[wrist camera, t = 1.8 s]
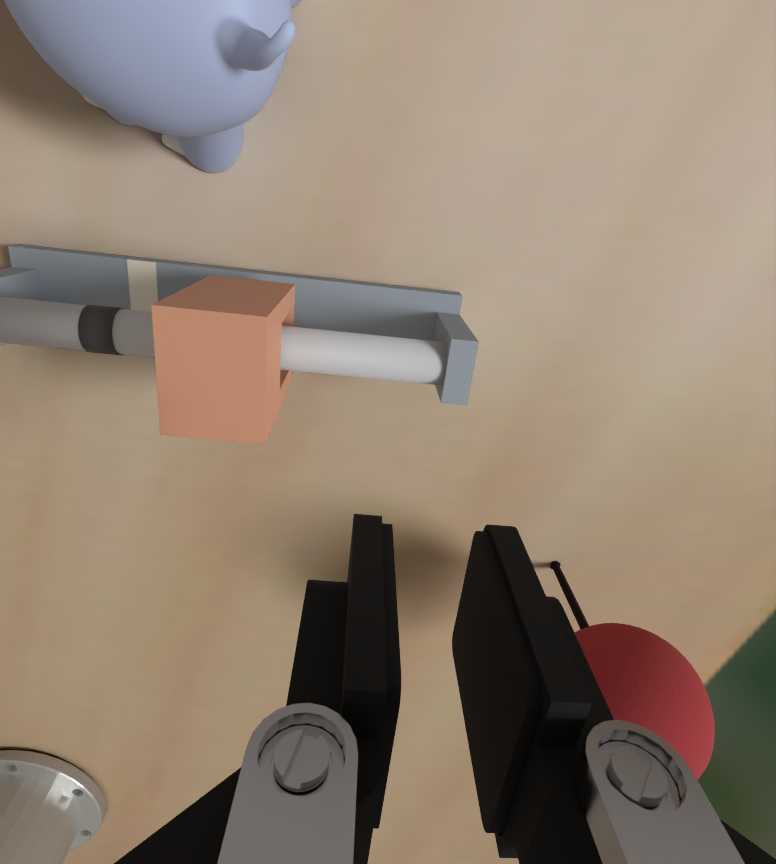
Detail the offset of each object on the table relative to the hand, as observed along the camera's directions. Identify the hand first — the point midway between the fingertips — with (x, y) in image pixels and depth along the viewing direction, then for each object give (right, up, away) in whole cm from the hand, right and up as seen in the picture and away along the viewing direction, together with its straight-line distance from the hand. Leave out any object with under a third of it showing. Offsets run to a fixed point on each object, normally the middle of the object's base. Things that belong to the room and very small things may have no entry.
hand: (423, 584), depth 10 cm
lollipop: (+11, -6, +26) cm, 29 cm away
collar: (-7, +8, +16) cm, 19 cm away
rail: (-9, +9, +19) cm, 23 cm away
